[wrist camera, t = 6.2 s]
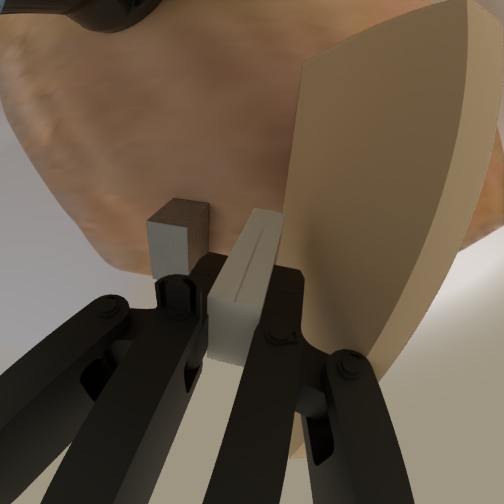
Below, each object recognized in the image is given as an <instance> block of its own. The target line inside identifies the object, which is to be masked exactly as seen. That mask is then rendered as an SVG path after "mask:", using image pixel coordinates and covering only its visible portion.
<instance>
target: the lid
mask: <svg viewBox="0 0 504 504" xmlns="http://www.w3.org/2000/svg"><path fill="white" fill-rule="evenodd" d="M502 72H503V33H502V23H501V22H500V21H498V20H497V19H496V18H495V17H494V16H492V15H491V14H490V13H489V12H487V11H486V10H485V9H484V8H482V7H481V6H479V5H478V4H477V3H476V2H474V1H473V0H447V1H444V2H440V3H436V4H433V5H429V6H426V7H423V8H420V9H417V10H414V11H411V12H408V13H406V14H403V15H400V16H398V17H395V18H392V19H390V20H387V21H385V22H383V23H380V24H378V25H375V26H373V27H371V28H369V29H366V30H364V31H362V32H360V33H358V34H356V35H353V36H351V37H349V38H347V39H345V40H343V41H341V42H339V43H337V44H335V45H333V46H332V47H330V48H328V49H326V50H324V51H322V52H320V53H319V54H317V55H315V56H313V57H311V58H310V59H308V60H306V61H304V62H303V64H302V73H301V81H300V89H299V97H298V105H297V112H296V120H295V127H294V135H293V142H292V149H291V156H290V163H289V170H288V177H287V183H286V190H285V197H284V203H283V210H282V213H286V214H285V220H284V225H283V230H282V236H281V241H280V246H279V252H278V257H277V262H276V265H279V266H284V267H289V268H294V269H299V270H301V272H302V274H303V276H304V278H305V286H304V297H303V298H304V299H303V311H302V322H301V331H302V334H303V336H304V338H305V339H306V340H307V342H308V343H310V344H311V345H312V346H313V347H315V348H317V349H319V350H321V351H323V352H325V353H327V354H330V355H331V354H332V353H333V352H335V351H337V350H341V349H349V350H354V351H356V352H359V353H361V354H362V355H363V356H365V357H366V358H367V359H368V360H369V362H370V364H371V365H372V368H373V370H374V373H375V376H376V378H377V381H378V382H379V381H380V380H381V378H382V377H383V376H384V375H385V373H386V372H387V371H388V369H389V368H390V366H391V365H392V364H393V362H394V361H395V360H396V358H397V357H398V355H399V354H400V353H401V351H402V350H403V348H404V347H405V345H406V344H407V342H408V341H409V339H410V338H411V336H412V335H413V333H414V332H415V330H416V328H417V327H418V325H419V324H420V322H421V320H422V319H423V317H424V315H425V313H426V312H427V310H428V309H429V307H430V305H431V303H432V302H433V300H434V298H435V296H436V294H437V293H438V291H439V289H440V287H441V285H442V283H443V281H444V279H445V277H446V275H447V273H448V271H449V269H450V267H451V265H452V263H453V261H454V259H455V256H456V254H457V252H458V250H459V247H460V245H461V243H462V240H463V238H464V236H465V233H466V231H467V228H468V226H469V223H470V220H471V218H472V215H473V212H474V209H475V207H476V204H477V201H478V198H479V195H480V192H481V188H482V185H483V182H484V178H485V175H486V171H487V167H488V163H489V159H490V155H491V151H492V146H493V142H494V137H495V132H496V126H497V120H498V112H499V106H500V98H501V87H502ZM294 458H307V455H306V448H305V441H304V435H303V428H302V422H301V415H300V414H299V413H297V412H295V415H294V422H293V429H292V436H291V442H290V448H289V459H294Z"/></svg>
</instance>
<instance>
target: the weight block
mask: <svg viewBox="0 0 504 504" xmlns="http://www.w3.org/2000/svg"><path fill="white" fill-rule="evenodd" d="M208 218H209V203H203V202H196V201H189V200H182V199H175V198H173V199H172V200H170V201H169V202H168V203H167V204H166V205H164V206H163V207H162V208H161V209H160V210H158V211H157V212H156V213H155V214H154V215H153V216H151V217H150V218H149V219H148V220H147V221H146V223H147V233H148V243H149V252H150V260H151V268H152V275H153V279H157V280H159V279H160V278H162V277H164V276H167V275H172V274H183V275H189V274H190V272H191V271H192V269H193V268H194V267H195V265H196V263H197V262H198V260H199V259H200V258H201V257H202V256H204V255H206V254H207V253H208Z"/></svg>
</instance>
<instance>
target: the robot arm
mask: <svg viewBox="0 0 504 504" xmlns="http://www.w3.org/2000/svg"><path fill="white" fill-rule="evenodd" d="M160 1H161V0H0V14H16V13H46V14H61V15H66V16H67V17H69V18H70V19H72V20H73V21H75V22H77V23H78V24H80V25H81V26H82V27H84V28H86V29H88V30H91V31H96V32H104V33H111V32H116V31H120V30H123V29H125V28H128V27H130V26H132V25H133V24H135V23H137V22H138V21H140V20H141V19H143V18H144V17H145V16H146V15H148V14H149V13H150V12H151V11H152V10H153V9H154V8H155V7H156V6H157V5H158V4H159V3H160ZM285 214H286V213H280V212H275V211H270V210H265V209H260V208H254V209H253V211H252V213H251V215H250V217H249V219H248V221H247V222H246V224H245V226H244V228H243V230H242V232H241V234H240V235H239V237H238V239H237V241H236V243H235V245H234V247H233V249H232V250H231V252H230V254H229V256H227V255H222V254H217V253H212V252H209V253H207V254H206V255H204V256H202V257H201V258H200V259H199V260H198V262H197V263H196V265H195V267H194V268H193V269H192V271H191V272H190V274H189V275H183V274H172V275H167V276H164V277H162V278H160V279H159V280H158V281H156V282H155V291H156V299H157V307H156V308H154V309H134V308H130V307H129V304H128V301H127V300H125V298H124V297H121V296H119V295H111V294H109V295H104V296H101V297H99V298H97V299H95V300H94V301H92V302H91V303H90V304H88V305H87V306H86V307H84V308H83V309H82V310H81V311H79V312H78V313H76V314H75V315H74V316H72V317H71V318H70V319H69V320H67V321H66V322H65V323H63V324H62V325H61V326H59V327H58V328H57V329H56V330H55V331H53V332H52V333H51V334H49V335H48V336H47V337H46V338H44V339H43V340H42V341H41V342H39V343H38V344H37V345H36V346H35V347H33V348H32V349H31V350H30V351H28V352H27V353H26V354H25V355H24V356H23V357H21V358H20V359H19V360H18V361H17V362H15V363H14V364H13V365H12V366H11V367H10V368H8V369H7V370H6V371H5V372H4V373H3V374H2V375H0V504H11V503H12V502H13V501H14V500H15V499H16V498H18V497H19V495H21V493H22V492H23V491H24V490H25V489H26V488H27V487H28V486H29V485H30V484H31V483H32V482H33V481H34V480H35V479H36V478H37V477H38V476H39V475H40V474H41V473H42V472H43V471H44V470H45V469H46V468H47V467H48V466H49V465H50V464H51V463H52V462H53V461H54V460H55V459H56V458H57V457H58V456H59V455H60V454H61V453H62V452H63V450H64V449H65V448H66V447H67V446H68V445H69V444H70V443H71V442H72V441H73V442H72V443H71V445H70V447H69V449H68V451H67V452H66V455H65V456H64V458H63V460H62V462H61V464H60V466H59V468H58V470H57V471H56V473H55V475H54V477H53V479H52V481H51V483H50V485H49V487H48V489H47V491H46V493H45V495H44V497H43V499H42V501H41V503H40V504H148V502H149V500H150V497H151V495H152V493H153V490H154V488H155V485H156V483H157V480H158V478H159V475H160V473H161V470H162V468H163V465H164V463H165V460H166V458H167V455H168V453H169V450H170V448H171V445H172V443H173V441H174V438H175V436H176V433H177V431H178V428H179V426H180V423H181V421H182V418H183V415H184V413H185V411H186V408H187V406H188V403H189V401H190V399H191V396H192V394H193V391H194V389H195V386H196V384H197V381H198V379H199V377H200V374H201V371H202V366H203V362H202V360H203V357H204V355H205V353H206V350H207V358H211V359H215V360H218V361H223V362H226V363H230V364H234V365H239V366H243V367H244V370H243V373H242V377H241V380H240V384H239V387H238V391H237V394H236V397H235V401H234V404H233V408H232V411H231V414H230V418H229V422H228V424H227V427H226V431H225V434H224V437H223V440H222V444H221V447H220V450H219V453H218V457H217V460H216V463H215V466H214V469H213V472H212V476H211V479H210V482H209V485H208V488H207V491H206V494H205V497H204V500H203V503H202V504H279V502H280V497H281V492H282V487H283V482H284V477H285V471H286V466H287V460H288V454H289V448H290V442H291V436H292V429H293V422H294V415H295V412H297V413H299V414H300V415H301V422H302V428H303V435H304V441H305V448H306V455H307V462H308V468H309V476H310V483H311V490H312V498H313V504H415V503H414V499H413V495H412V491H411V487H410V483H409V479H408V475H407V471H406V468H405V464H404V461H403V457H402V454H401V450H400V447H399V444H398V441H397V437H396V434H395V431H394V428H393V425H392V422H391V419H390V416H389V412H388V409H387V406H386V404H385V401H384V398H383V395H382V392H381V389H380V387H379V384H378V381H377V378H376V376H375V373H374V370H373V368H372V365H371V364H370V362H369V360H368V359H367V358H366V357H365V356H363V355H362V354H361V353H359V352H356V351H354V350H349V349H341V350H337V351H335V352H333V353H332V354H331V355H330V354H327V353H325V352H323V351H321V350H319V349H317V348H315V347H313V346H312V345H311V344H310V343H308V342H307V340H306V339H305V338H304V336H303V334H302V331H301V322H302V311H303V299H304V298H303V297H304V286H305V278H304V276H303V274H302V272H301V270H299V269H294V268H289V267H284V266H279V265H276V262H277V257H278V252H279V246H280V241H281V236H282V230H283V225H284V220H285Z"/></svg>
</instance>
